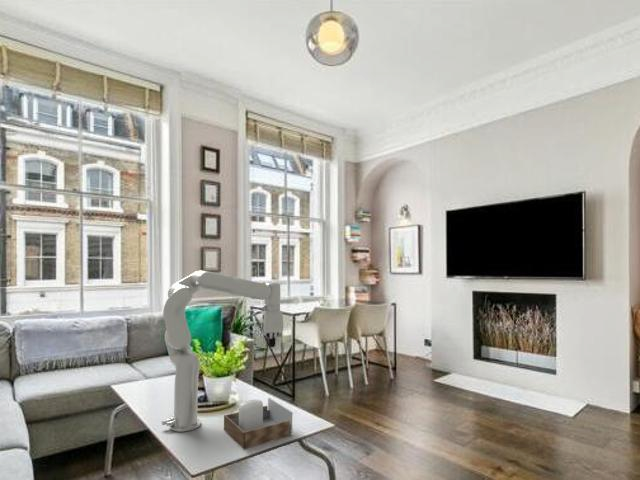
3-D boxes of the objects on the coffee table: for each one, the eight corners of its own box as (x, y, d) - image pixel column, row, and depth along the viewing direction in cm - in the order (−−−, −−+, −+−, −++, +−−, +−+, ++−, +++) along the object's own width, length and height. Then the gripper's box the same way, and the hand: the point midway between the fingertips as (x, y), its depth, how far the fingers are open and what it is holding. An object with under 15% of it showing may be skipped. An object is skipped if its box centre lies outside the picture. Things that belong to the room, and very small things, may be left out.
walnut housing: (243, 449, 152) (244, 432, 152) (223, 430, 168) (224, 415, 168) (289, 435, 163) (289, 420, 163) (266, 419, 180) (266, 405, 180)
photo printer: (241, 436, 160) (242, 404, 160) (236, 432, 163) (237, 401, 164) (264, 429, 166) (264, 399, 166) (259, 426, 169) (259, 396, 170)
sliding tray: (246, 447, 153) (247, 423, 153) (226, 428, 169) (227, 406, 169) (292, 434, 164) (292, 411, 164) (269, 417, 180) (269, 397, 181)
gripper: (261, 310, 188) (261, 350, 187) (289, 308, 196) (289, 346, 196) (254, 308, 194) (254, 347, 193) (282, 306, 202) (281, 343, 202)
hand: (271, 346), depth 194 cm, fingers closed
